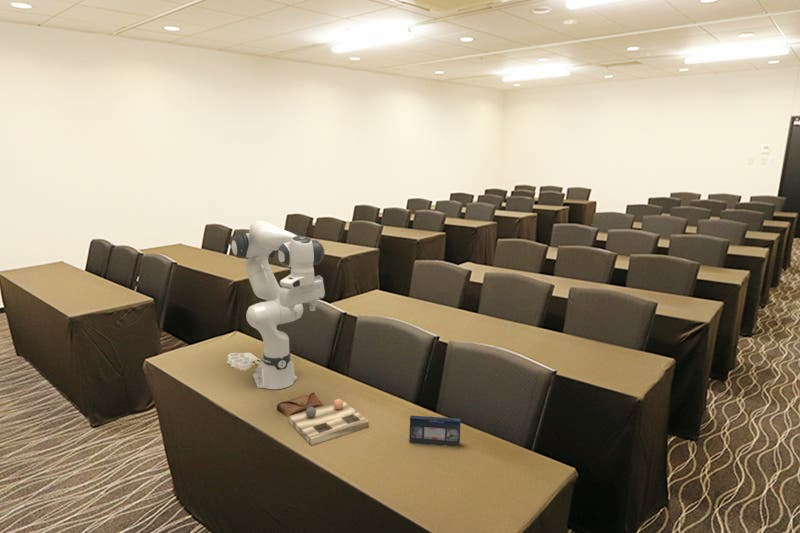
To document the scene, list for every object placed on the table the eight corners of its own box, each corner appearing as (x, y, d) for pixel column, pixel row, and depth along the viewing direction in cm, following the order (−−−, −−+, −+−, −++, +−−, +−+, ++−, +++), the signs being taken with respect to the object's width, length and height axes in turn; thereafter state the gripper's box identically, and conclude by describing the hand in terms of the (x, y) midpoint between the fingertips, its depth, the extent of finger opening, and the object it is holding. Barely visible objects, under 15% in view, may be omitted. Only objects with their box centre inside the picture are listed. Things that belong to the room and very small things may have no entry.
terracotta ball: (331, 407, 208) (331, 398, 207) (340, 405, 210) (340, 396, 209) (336, 411, 204) (336, 402, 204) (345, 409, 207) (345, 400, 206)
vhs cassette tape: (408, 443, 188) (409, 418, 186) (409, 438, 191) (410, 414, 189) (459, 447, 185) (460, 422, 183) (459, 443, 188) (461, 418, 186)
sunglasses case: (286, 418, 204) (282, 401, 205) (279, 420, 209) (275, 404, 210) (325, 404, 215) (320, 389, 217) (317, 407, 221) (313, 392, 222)
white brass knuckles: (263, 366, 255) (235, 373, 245) (248, 355, 268) (220, 362, 259) (263, 359, 254) (234, 367, 245) (248, 349, 267) (220, 355, 258)
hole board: (288, 422, 201) (288, 416, 200) (343, 406, 214) (343, 400, 214) (311, 445, 185) (311, 439, 184) (368, 426, 198) (368, 420, 198)
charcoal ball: (303, 415, 201) (303, 406, 200) (313, 413, 203) (313, 403, 202) (308, 420, 198) (308, 410, 197) (317, 417, 200) (317, 407, 199)
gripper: (317, 273, 208) (317, 306, 211) (276, 281, 192) (277, 317, 195) (328, 275, 204) (328, 309, 207) (287, 284, 189) (288, 320, 191)
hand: (303, 313), depth 201 cm, fingers open, 8 cm apart
